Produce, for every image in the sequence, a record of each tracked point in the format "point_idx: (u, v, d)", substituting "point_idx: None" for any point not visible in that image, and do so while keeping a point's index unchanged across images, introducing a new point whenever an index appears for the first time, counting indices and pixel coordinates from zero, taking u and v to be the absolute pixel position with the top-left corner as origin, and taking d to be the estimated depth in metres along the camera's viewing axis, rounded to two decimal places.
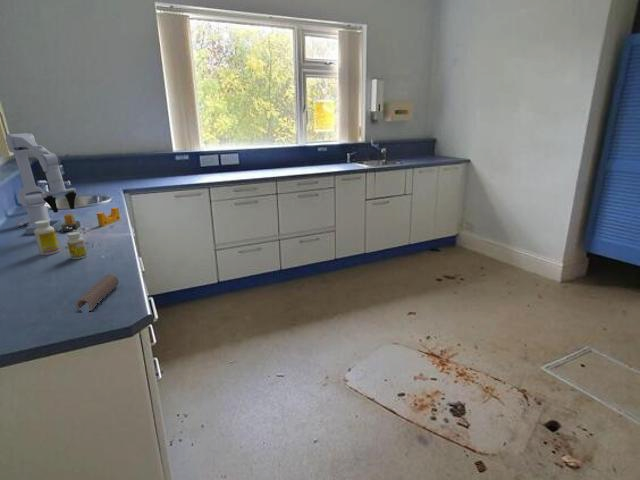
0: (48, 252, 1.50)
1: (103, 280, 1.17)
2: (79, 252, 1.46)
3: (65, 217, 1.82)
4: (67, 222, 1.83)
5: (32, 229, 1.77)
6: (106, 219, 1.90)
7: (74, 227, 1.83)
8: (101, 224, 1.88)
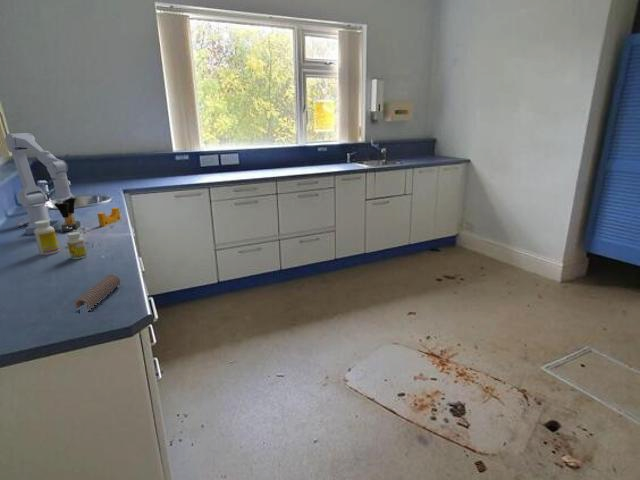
0: (48, 252, 1.50)
1: (104, 280, 1.17)
2: (79, 252, 1.46)
3: None
4: (67, 222, 1.83)
5: (32, 229, 1.77)
6: (107, 219, 1.89)
7: (74, 227, 1.83)
8: (102, 224, 1.88)
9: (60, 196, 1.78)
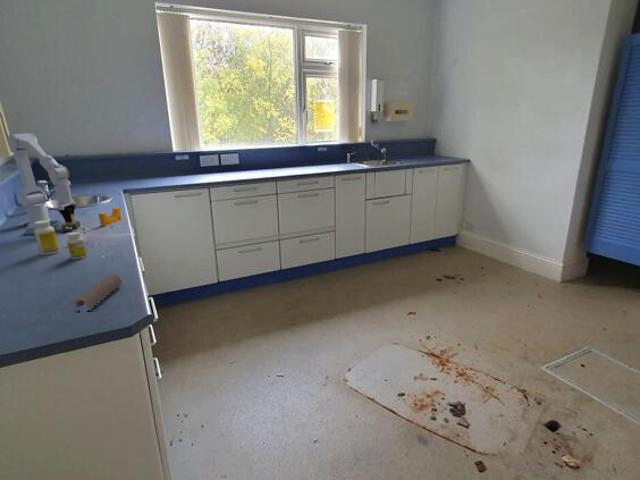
0: (48, 252, 1.50)
1: (105, 280, 1.17)
2: (79, 252, 1.46)
3: None
4: (67, 222, 1.83)
5: (32, 229, 1.77)
6: (108, 219, 1.89)
7: (74, 227, 1.83)
8: (103, 224, 1.88)
9: (61, 202, 1.79)
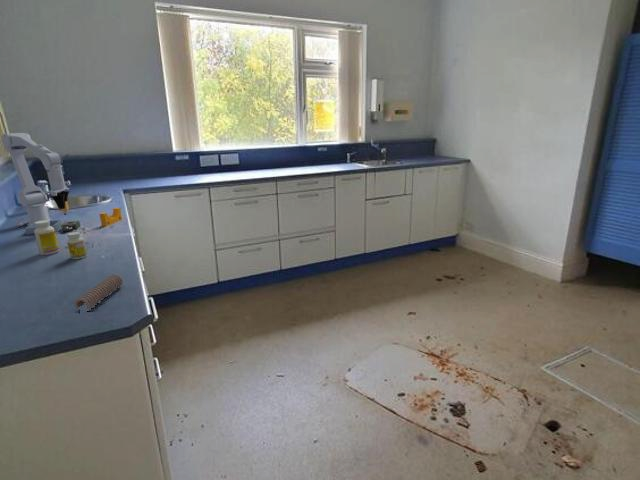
0: (48, 252, 1.50)
1: (106, 280, 1.17)
2: (79, 252, 1.46)
3: None
4: (61, 209, 1.81)
5: (32, 229, 1.77)
6: (109, 219, 1.89)
7: (74, 227, 1.83)
8: (104, 224, 1.88)
9: (54, 188, 1.76)
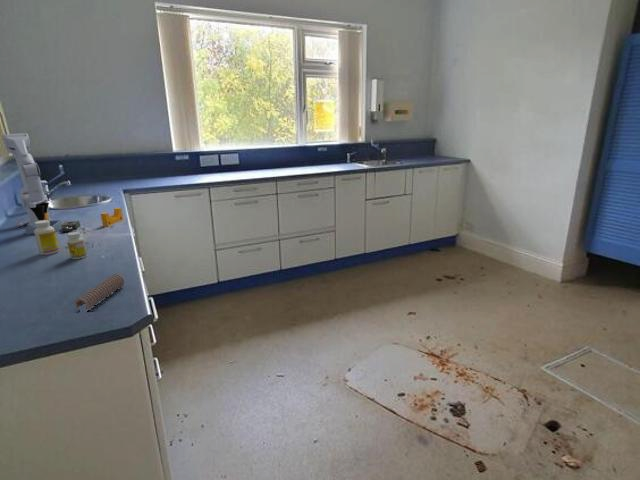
0: (48, 252, 1.50)
1: (107, 280, 1.17)
2: (79, 252, 1.46)
3: None
4: None
5: (32, 229, 1.77)
6: (110, 219, 1.89)
7: (74, 227, 1.83)
8: (105, 224, 1.88)
9: (33, 200, 1.76)
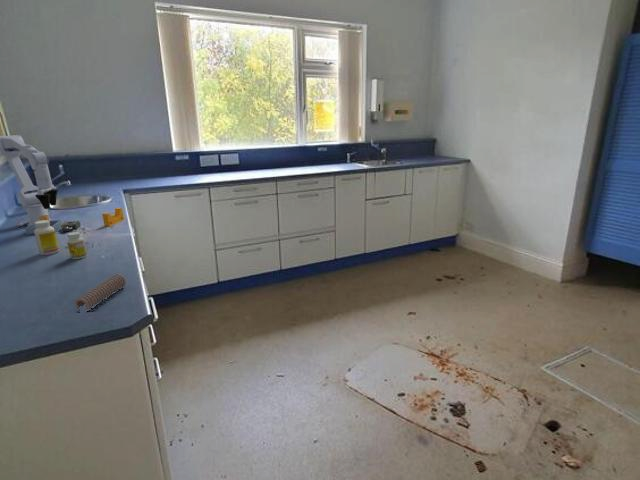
0: (48, 252, 1.50)
1: (108, 280, 1.17)
2: (79, 252, 1.46)
3: (40, 218, 1.80)
4: None
5: (32, 229, 1.77)
6: (111, 219, 1.89)
7: (74, 227, 1.83)
8: (107, 224, 1.87)
9: (41, 187, 1.78)
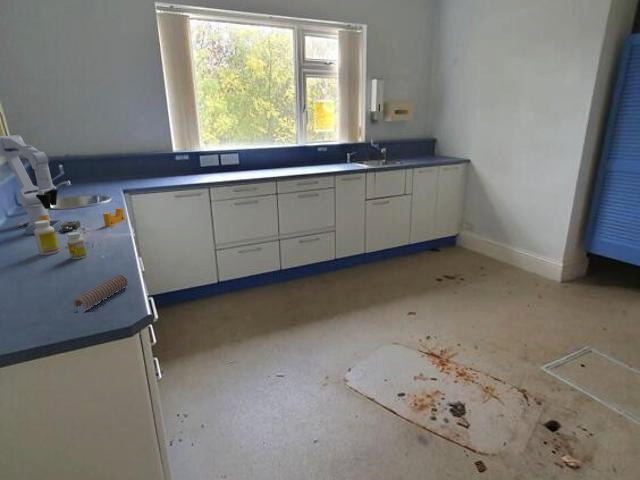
0: (48, 252, 1.50)
1: (110, 280, 1.17)
2: (79, 252, 1.46)
3: (40, 218, 1.80)
4: None
5: (32, 229, 1.77)
6: (112, 219, 1.89)
7: (74, 227, 1.83)
8: (108, 224, 1.87)
9: (42, 187, 1.78)
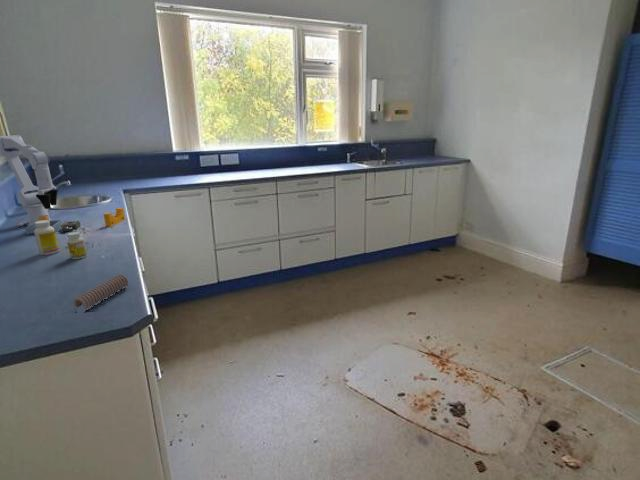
0: (48, 252, 1.50)
1: (110, 280, 1.17)
2: (79, 252, 1.46)
3: (39, 219, 1.80)
4: None
5: (32, 229, 1.77)
6: (113, 219, 1.89)
7: (74, 227, 1.83)
8: (108, 224, 1.87)
9: (42, 187, 1.78)
